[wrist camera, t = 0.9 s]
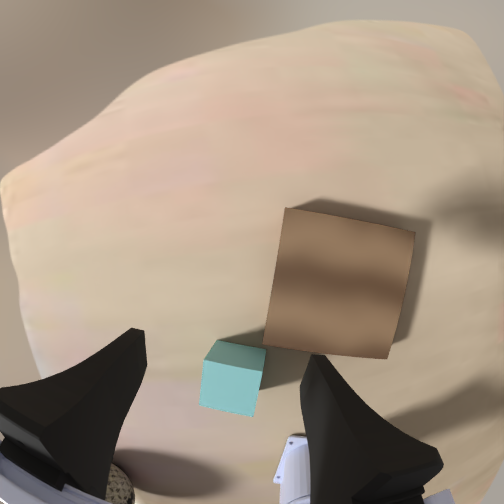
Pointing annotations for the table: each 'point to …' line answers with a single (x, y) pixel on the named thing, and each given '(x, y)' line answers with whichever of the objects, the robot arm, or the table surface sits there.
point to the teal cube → (232, 377)
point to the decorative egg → (119, 487)
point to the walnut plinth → (337, 285)
